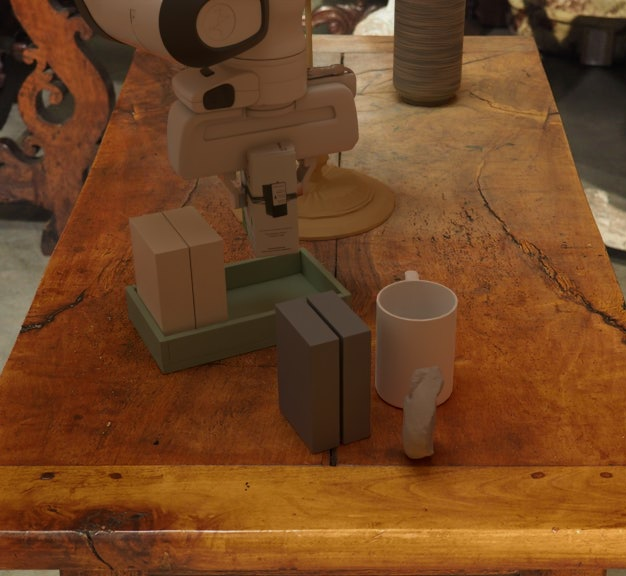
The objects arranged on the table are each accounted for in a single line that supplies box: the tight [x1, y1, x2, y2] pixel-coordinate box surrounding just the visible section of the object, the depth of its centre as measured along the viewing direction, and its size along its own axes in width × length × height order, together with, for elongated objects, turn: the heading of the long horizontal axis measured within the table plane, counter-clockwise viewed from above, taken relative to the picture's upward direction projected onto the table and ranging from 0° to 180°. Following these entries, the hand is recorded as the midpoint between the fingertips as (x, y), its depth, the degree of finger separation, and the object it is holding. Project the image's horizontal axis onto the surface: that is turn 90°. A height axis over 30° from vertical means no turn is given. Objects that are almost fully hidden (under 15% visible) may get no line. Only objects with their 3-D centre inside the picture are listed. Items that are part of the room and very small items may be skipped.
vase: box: [392, 0, 467, 107], centre depth 178 cm, size 12×12×23 cm
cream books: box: [128, 205, 228, 337], centre depth 113 cm, size 7×9×12 cm
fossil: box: [401, 366, 444, 460], centre depth 97 cm, size 6×4×10 cm, turn 167°
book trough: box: [124, 246, 352, 375], centre depth 118 cm, size 22×13×4 cm, turn 118°
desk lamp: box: [230, 0, 396, 242], centre depth 136 cm, size 31×23×40 cm
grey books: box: [275, 290, 372, 455], centre depth 101 cm, size 6×8×12 cm
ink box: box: [239, 140, 300, 258], centre depth 113 cm, size 9×5×12 cm, turn 16°
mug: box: [374, 270, 459, 409], centre depth 108 cm, size 12×8×10 cm, turn 3°
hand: (268, 200), depth 114 cm, fingers closed on ink box, 5 cm apart
